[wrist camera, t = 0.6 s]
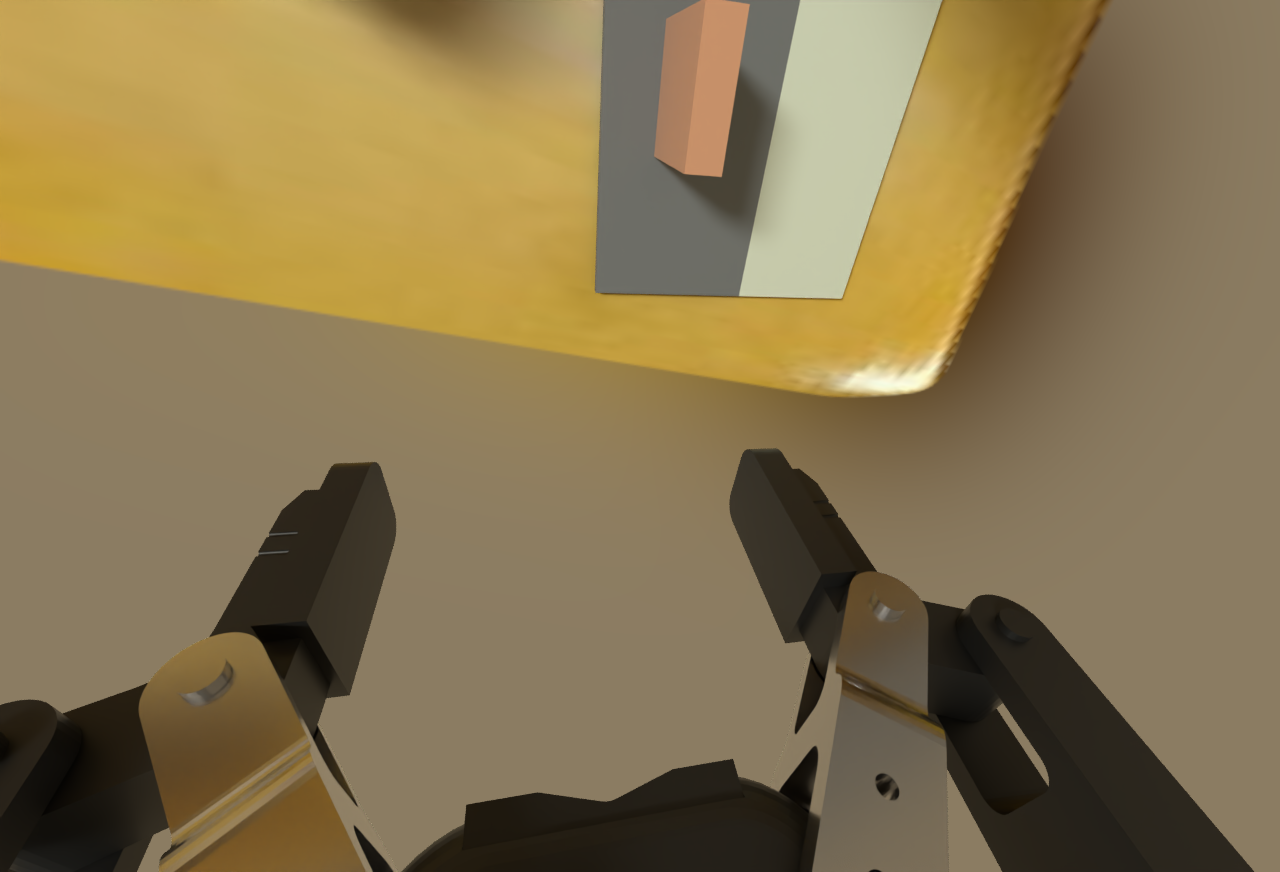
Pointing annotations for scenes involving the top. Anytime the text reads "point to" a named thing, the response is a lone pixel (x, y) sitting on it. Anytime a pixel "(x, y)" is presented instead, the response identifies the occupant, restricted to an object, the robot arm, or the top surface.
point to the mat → (755, 149)
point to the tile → (699, 85)
